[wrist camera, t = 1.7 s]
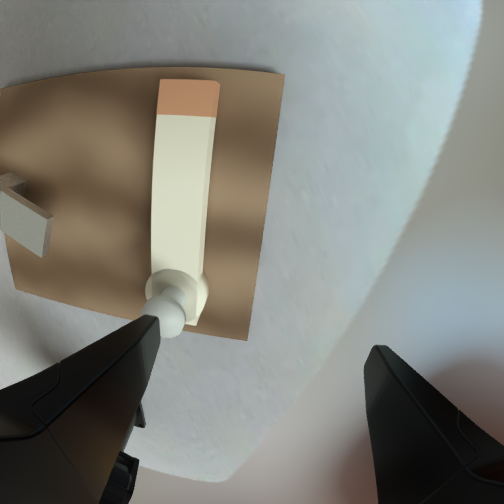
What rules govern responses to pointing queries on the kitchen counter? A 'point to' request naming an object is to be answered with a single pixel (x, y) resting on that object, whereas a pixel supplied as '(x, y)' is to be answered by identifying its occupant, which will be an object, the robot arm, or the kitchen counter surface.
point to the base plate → (136, 187)
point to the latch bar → (180, 202)
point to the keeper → (23, 216)
